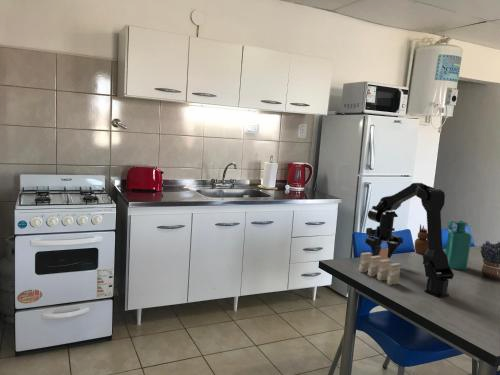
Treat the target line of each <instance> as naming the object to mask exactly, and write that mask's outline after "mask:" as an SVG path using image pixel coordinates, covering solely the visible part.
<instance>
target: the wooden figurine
mask: <svg viewBox="0 0 500 375" xmlns="http://www.w3.org/2000/svg"><path fill="white" fill-rule="evenodd" d="M418 231H419V232H418V233H417V238H416V239H415V240H414V244H413V245H414V247H413V248H414V251H415V253H416V254H420V255H423V253H427V251H428V230H427V227H425V225H422V224H421V223H420V224H419V230H418Z"/></svg>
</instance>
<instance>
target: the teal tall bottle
mask: <svg viewBox="0 0 500 375" xmlns="http://www.w3.org/2000/svg"><path fill="white" fill-rule="evenodd" d="M446 224H447V229H448V235H447V241H446V247H445V254H446V255H447V258H448V264H449V266H450V268H451V270H453V269H454V270H459V271H460V270H462V271H466V270H467V269H468V263H469V258H470V257H469V256H470V252H471V251H470V250H471V245H472V238H473V237H472V234H471V233H469V232H468V231H466V226H468V225H469V222H467V221H463V220H456V221H454V220H453V219H450V218H447V223H446ZM453 224H455V225H456V228H455V229H453Z"/></svg>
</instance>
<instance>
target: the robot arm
mask: <svg viewBox="0 0 500 375" xmlns="http://www.w3.org/2000/svg"><path fill="white" fill-rule="evenodd" d="M413 197H417V198H419V199H420V200H421V201H420V202H421V206H422V207H423V209H424V210H425V212H426V224H427V225H426V226H427V227H426V229H427V234H428V238H427V240H428V250H427V252H426V253H423V254H422V258H423V260H422V261H423V262H422V265H423V267H424V272H425V277H427V282H426V289H424V290H423V291H424V292H425V293H428V294H429V295H432V296H435V297H437V298H444V297H447V296H450V293H448V287H449V280H453V278H454V276H455V275H454V273H453V269H451V268H450V266H449V264H448V258H447V255H446V254H445V253H446V251H444V248H443V234H442V233H443V231H442V217H441V213H442V212H441V211H442V210H443V207H444V206H445V202H446V201H445V199H446V194H445V192H444V191H443V190H442V189H441V188H436V187H432V186H429V185H426V184H425V183H423V182H412V183H411V184H410V185H409V186H407V187H405V188H403V189H402V190H399V191H397V192H396V193H394V194H390V195H386V196H383V197H382V198H380V200H379V202H378V203H377V204H376V205H373V206H371V208H370V209H369V210H368V212H367V218H368V219H369V220H370V221H372V222H373V221H374V222H375V223H376V222H377V223H379V225H377V226H376V229H374V228H372V227H366V230H365V234H366V236H368V237H366V238H365V242H364V244H367V246H369V247H370V249H371V253H372V256H378V255H379V252H380V250H381V248H382V246H381V245H382V244H384V243H386V244H387V248H388V256H387V259H391V257H392V256H393V255H394V253H395V252H396V250H397V249H398V248H399V247H400V246H401V244H403V243H404V238H403V237H402V236H399V235H397V234H396V235H395V234H393V232H394V231H395V228H394V222H395V221H394V220H395V218H398V217H399V216H398V214H397V212H396V210H398V209H399V208H400V207H401V206H402V204H403V203H404V202H406V201H408V200H410V199H412V198H413Z"/></svg>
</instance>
